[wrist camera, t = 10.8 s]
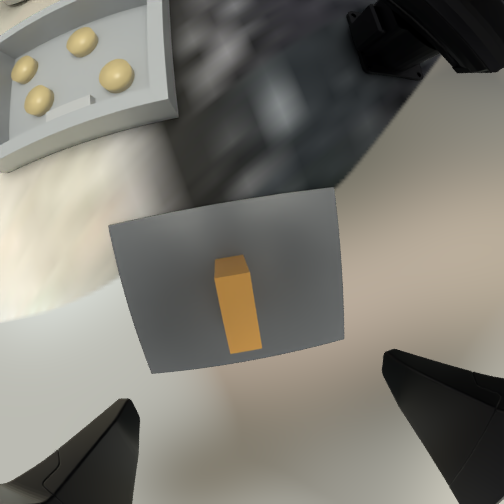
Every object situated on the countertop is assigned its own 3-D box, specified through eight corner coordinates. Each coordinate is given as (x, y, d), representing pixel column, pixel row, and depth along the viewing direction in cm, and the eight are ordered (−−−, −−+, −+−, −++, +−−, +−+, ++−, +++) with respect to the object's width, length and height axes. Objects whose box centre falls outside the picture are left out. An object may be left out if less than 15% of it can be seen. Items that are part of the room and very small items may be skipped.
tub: (168, -3, 15) (161, -34, 11) (178, 117, 18) (168, 98, 14) (13, 58, 14) (-12, 44, 10) (8, 172, 17) (-25, 172, 12)
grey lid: (328, 187, 21) (362, 187, 16) (339, 333, 24) (366, 366, 18) (113, 224, 20) (81, 235, 14) (153, 367, 23) (141, 407, 17)
